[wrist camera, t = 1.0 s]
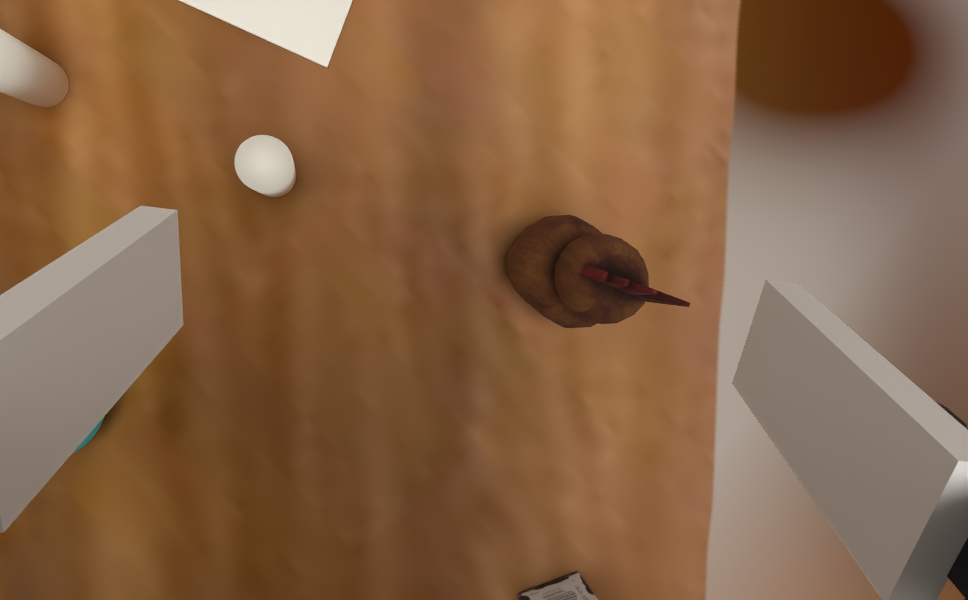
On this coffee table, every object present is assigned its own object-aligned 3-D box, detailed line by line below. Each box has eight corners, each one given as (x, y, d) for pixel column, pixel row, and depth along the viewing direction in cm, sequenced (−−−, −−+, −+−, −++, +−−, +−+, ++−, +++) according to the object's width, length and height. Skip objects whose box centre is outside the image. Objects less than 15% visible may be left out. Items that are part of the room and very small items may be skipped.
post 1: (59, 115, 37) (-17, 84, 28) (6, 94, 36) (-88, 57, 27) (75, 70, 37) (5, 25, 28) (23, 48, 36) (-66, -4, 27)
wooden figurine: (604, 267, 46) (740, 291, 32) (548, 331, 45) (661, 385, 31) (535, 198, 44) (647, 190, 30) (477, 263, 44) (561, 288, 29)
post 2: (286, 203, 40) (282, 200, 32) (243, 186, 40) (226, 179, 31) (302, 162, 40) (301, 148, 32) (259, 145, 39) (246, 125, 31)
